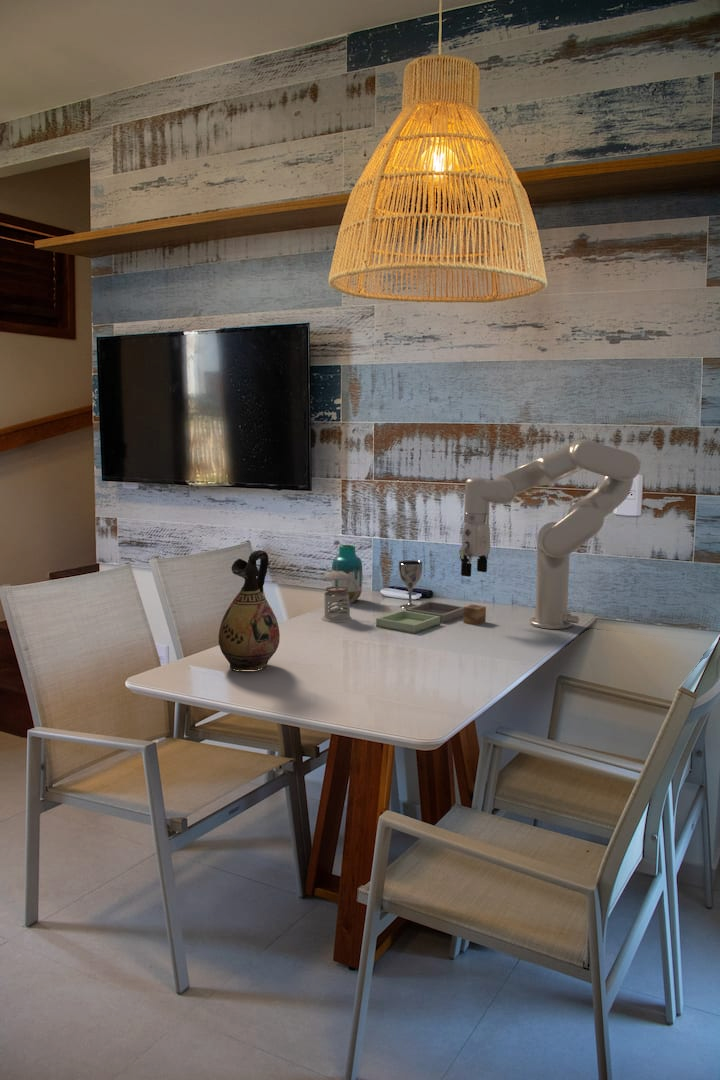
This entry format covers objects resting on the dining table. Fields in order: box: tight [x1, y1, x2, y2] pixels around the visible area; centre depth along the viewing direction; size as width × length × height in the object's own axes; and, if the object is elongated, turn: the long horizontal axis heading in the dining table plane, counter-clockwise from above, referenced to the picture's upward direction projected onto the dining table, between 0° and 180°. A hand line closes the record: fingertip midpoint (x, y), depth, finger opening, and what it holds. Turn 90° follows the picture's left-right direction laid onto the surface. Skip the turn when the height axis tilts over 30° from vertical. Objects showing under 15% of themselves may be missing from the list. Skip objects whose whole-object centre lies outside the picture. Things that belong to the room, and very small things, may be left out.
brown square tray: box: [405, 601, 465, 624], centre depth 278 cm, size 14×14×2 cm
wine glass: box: [398, 559, 423, 610], centre depth 290 cm, size 8×8×15 cm
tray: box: [375, 609, 441, 635], centre depth 265 cm, size 14×14×2 cm
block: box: [462, 604, 487, 626], centre depth 270 cm, size 5×5×5 cm
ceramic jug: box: [218, 549, 281, 670], centre depth 221 cm, size 17×15×30 cm
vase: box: [331, 544, 364, 602], centre depth 298 cm, size 11×11×19 cm
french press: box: [321, 540, 358, 624], centre depth 272 cm, size 10×12×25 cm
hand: (474, 573), depth 268 cm, fingers open, 9 cm apart
